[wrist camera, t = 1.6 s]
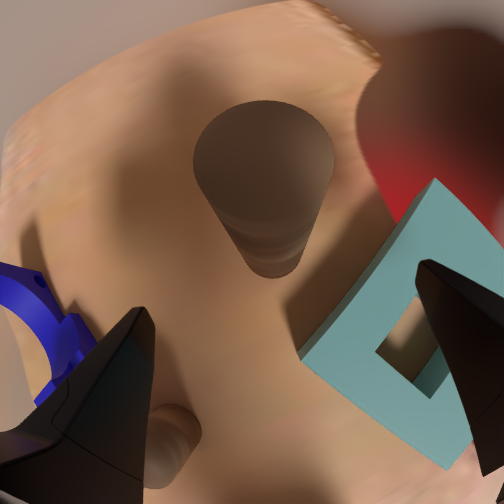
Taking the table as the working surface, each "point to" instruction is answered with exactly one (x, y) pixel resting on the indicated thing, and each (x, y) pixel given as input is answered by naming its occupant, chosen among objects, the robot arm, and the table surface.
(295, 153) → the tall walnut pin
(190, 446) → the short walnut pin
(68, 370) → the cable clip
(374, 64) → the table surface
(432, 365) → the teal hole plate
